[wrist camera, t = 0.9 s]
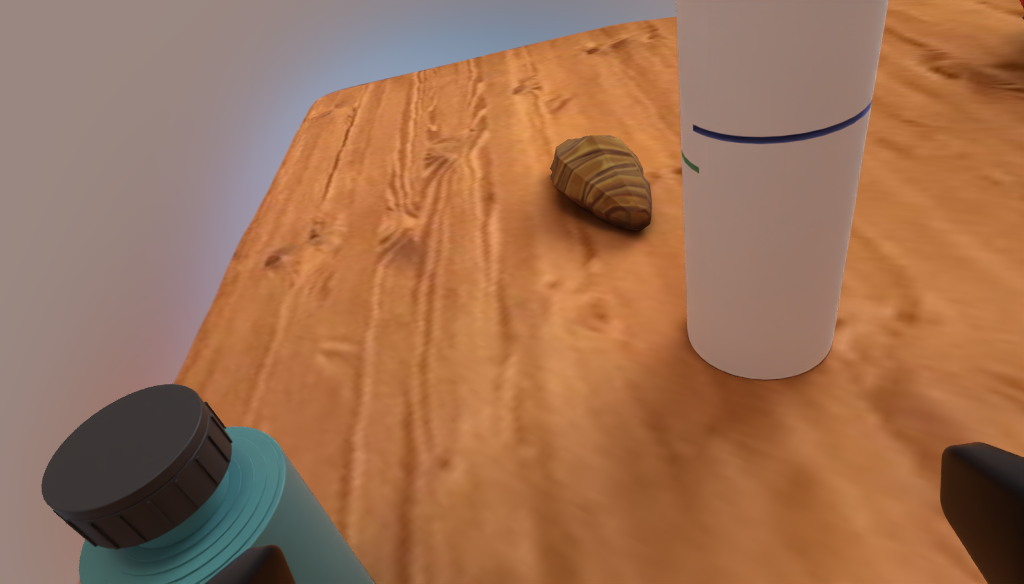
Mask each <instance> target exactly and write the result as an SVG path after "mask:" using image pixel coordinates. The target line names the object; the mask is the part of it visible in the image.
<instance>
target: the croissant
mask: <svg viewBox="0 0 1024 584" xmlns="http://www.w3.org/2000/svg"><path fill="white" fill-rule="evenodd" d="M550 169H551V170H552V174H551V179H552V182H553V185H554V186H555V187H556V188H557V189H558V190H560V191H561V192H562V193H563V194H564V195H566V196H567V197H568V198H569V199H570V200H572V201H573V202H574V203H576V204H577V205H579V206H580V207H582V208H583V209H585V210H588V211H590V212H593V213H594V214H595V216H596V217H597V218H599V219H601V220H604V221H606V222H608V223H611V224H613V225H615V226H618V227H622V228H625V229H629V230H640V229H643V228H645V227H646V226H648V225H649V224H650V220H651V210H652V199H651V191H650V184H649V183H648V181H647V180H646V179H645V178H644V176H643V168H642V166H641V164H640V162H639V160H638V158H637V156H636V155H635V154H634V153H633V152H632V151H631V150H630V149H629V148H628V147H627V146H626V145H625V144H624V143H623V141H622V140H621V139H618V138H615V137H613V136H586V137H582V138H579V139H569V140H566V141H565V142H563V143H562V144H560V145H559V146H557V147H556V151H555V156H554V160H553V163H552V166H551V168H550Z"/></svg>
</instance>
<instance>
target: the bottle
mask: <svg viewBox="0 0 1024 584" xmlns="http://www.w3.org/2000/svg"><path fill="white" fill-rule="evenodd" d="M225 431H226V432H227V433H228V435H229V437H230V438H231V439H232V441H233V443H231V445H232V455H231V461H230V464H229V467H228V469H227V472H226V474H225V476H224V478H223V479H222V481H221V483H220V485H219V486H218V487H217V489H216V490H215V492H214V493H213V494H212V495H211V497H210V498H209V499H208V500H207V501H206V502H205V503H204V504H203V505H202V506H201V507H200V508H199V509H198V510H197V511H196V512H195V513H194V514H193V515H192V516H190V517H189V518H188V519H187V520H185V521H184V522H183V523H181V524H180V525H179V526H177V527H176V528H174V529H173V530H171V531H169V532H168V533H166V534H164V535H162V536H160V537H158V538H156V539H154V540H152V541H149V542H147V543H144V544H141V545H138V546H134V547H129V548H122V549H118V550H115V549H108V548H104V547H100V546H98V545H97V547H94V546H93V545H92V544H90V543H89V542H88V541H87V540H86V539H85V542H84V544H83V547H82V551H81V556H80V564H79V574H80V582H81V584H204V583H206V582H207V581H208V580H209V579H211V578H212V577H213V576H214V575H216V574H217V573H218V572H219V571H221V570H222V569H223V568H224V567H225V566H227V565H228V564H229V563H230V562H232V561H233V560H234V559H235V558H237V557H238V556H239V555H240V554H242V553H243V552H244V551H245V550H247V549H249V548H253V547H259V546H266V545H277V546H278V547H279V548H280V549H281V550H282V552H283V554H284V556H285V558H286V561H287V563H288V566H289V568H290V570H291V573H292V575H293V578H294V580H295V583H296V584H375V583H374V581H373V580H372V578H371V577H370V575H369V574H368V573H367V571H366V570H365V568H364V567H363V565H362V564H361V562H360V561H359V560H358V558H357V557H356V555H355V554H354V552H353V551H352V549H351V548H350V547H349V545H348V544H347V542H346V541H345V539H344V538H343V536H342V535H341V534H340V532H339V531H338V529H337V528H336V526H335V525H334V523H333V522H332V521H331V519H330V518H329V516H328V515H327V513H326V512H325V510H324V509H323V508H322V506H321V505H320V503H319V502H318V500H317V499H316V497H315V496H314V495H313V493H312V492H311V490H310V489H309V487H308V486H307V484H306V483H305V482H304V480H303V479H302V477H301V476H300V474H299V473H298V472H297V470H296V469H295V467H294V466H293V464H292V463H291V461H290V460H289V459H288V457H287V456H286V454H285V453H284V451H283V450H282V448H281V447H280V446H279V444H278V443H277V442H276V441H275V440H274V439H273V438H272V437H271V436H269V435H268V434H266V433H264V432H262V431H260V430H257V429H253V428H248V427H226V429H225Z"/></svg>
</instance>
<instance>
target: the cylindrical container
mask: <svg viewBox="0 0 1024 584" xmlns="http://www.w3.org/2000/svg"><path fill="white" fill-rule="evenodd" d="M887 6H888V0H676V9H677V10H676V12H677V40H678V69H679V97H680V125H681V153H682V183H683V214H684V244H685V274H686V304H687V331H688V337H689V341H690V343H691V345H692V347H693V349H694V350H695V351H696V352H697V353H698V354H699V356H700V357H701V358H703V359H704V360H705V361H706V362H708V363H709V364H710V365H712V366H714V367H716V368H718V369H719V370H722V371H724V372H727V373H730V374H732V375H736V376H740V377H745V378H750V379H762V380H769V379H782V378H787V377H791V376H796V375H799V374H801V373H804V372H806V371H809V370H810V369H812V368H813V367H815V366H817V365H818V364H819V363H820V362H821V361H822V360H823V359H824V358H825V357H826V356H827V354H828V353H829V351H830V349H831V346H832V342H833V337H834V331H835V324H836V318H837V312H838V306H839V300H840V294H841V287H842V281H843V275H844V269H845V263H846V257H847V251H848V244H849V238H850V232H851V226H852V220H853V214H854V208H855V202H856V196H857V190H858V183H859V177H860V171H861V165H862V159H863V153H864V147H865V141H866V135H867V129H868V123H869V116H870V110H871V104H872V96H873V92H874V86H875V80H876V74H877V67H878V61H879V55H880V49H881V43H882V37H883V31H884V24H885V18H886V12H887Z"/></svg>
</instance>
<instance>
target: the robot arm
mask: <svg viewBox="0 0 1024 584" xmlns="http://www.w3.org/2000/svg"><path fill="white" fill-rule="evenodd" d="M940 501H941V506H942V509H943V512H944V514H945V517H946V518H947V520H948V522H949V523H950V525H951V526H952V528H953V530H954V531H955V533H956V534H957V536H958V537H959V539H960V541H961V542H962V544H963V545H964V547H965V548H966V550H967V552H968V553H969V555H970V556H971V558H972V559H973V561H974V562H975V564H976V566H977V567H978V569H979V570H980V572H981V573H982V575H983V577H984V578H985V580H986V581H987V583H988V584H1024V457H1021V456H1018V455H1016V454H1013V453H1010V452H1007V451H1005V450H1002V449H999V448H996V447H994V446H991V445H988V444H985V443H981V442H974V443H967V444H960V445H953V446H949V447H947V448H946V449H945V450H944V452H943V454H942V462H941V489H940ZM204 584H296V583H295V580H294V578H293V575H292V573H291V570H290V568H289V566H288V563H287V561H286V558H285V556H284V554H283V552H282V550H281V549H280V548H279V547H278V546H277V545H266V546H259V547H253V548H249V549H247V550H245V551H244V552H243V553H242V554H240V555H239V556H238V557H237V558H235V559H234V560H233V561H232V562H230V563H229V564H228V565H227V566H225V567H224V568H223V569H222V570H221V571H219V572H218V573H217V574H216V575H214V576H213V577H212V578H211V579H209V580H208V581H207V582H206V583H204Z"/></svg>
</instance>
